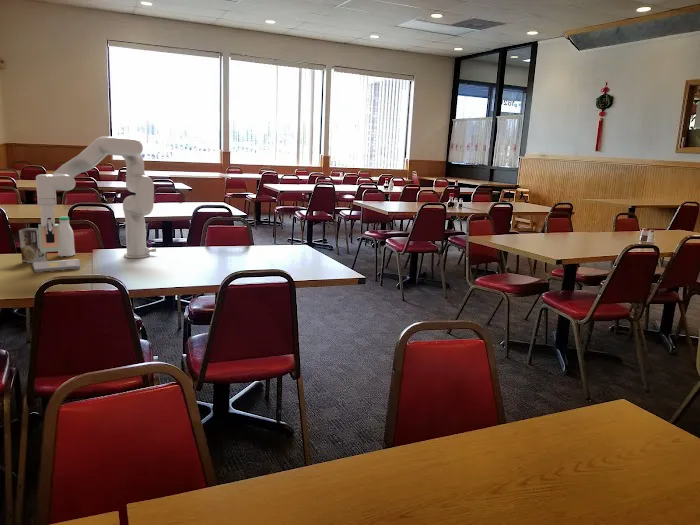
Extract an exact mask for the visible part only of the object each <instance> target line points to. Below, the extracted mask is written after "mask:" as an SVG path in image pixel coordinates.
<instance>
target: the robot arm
mask: <svg viewBox="0 0 700 525" xmlns="http://www.w3.org/2000/svg"><path fill="white" fill-rule="evenodd" d="M143 150H144V146H143V144H142V142H141V141H140V140H138V139H136V138H130V137H129V138H127V137H126V138H124V137H115V136H114V137H113V136H99V137H97V138H96V139H94V140H93V141H92V142H91V143H90V144H89V145H87V147H85V148H84V149H83V150H82V151H81V152H80V153H79V154H78V155H76V156H75V157H73V158H70V160H68V161H67V162H64V163H62V164H61V166H60V167H58V168H57V169H56V170H55V171H54V172H53V173H52V174H49V173H47V174H46V173H45V174H43V173H42V174H37V175H36V176H35V186H36V196H37V198H36V199H37V206H39V207H40V212H39V213H40V224H41V225H42V227H43V228H44V227H46V233H47V234H46V242H47V243H54V242H55V241H54V233H53V227H55V224H56V222H55V221H56V220H55V206H57V191H65V192H68V191H71V190H73V189H74V188H75V187H76V183H77V182H76V180H75V178H76V176H79V175H80V174H81V173H85V172H89V171H90V170H92V169H94V168H95V167H96V166H97V165H98V164H100V163H101V162H102V161H103V160H104V159H105V158H106V157H107V156H110V155H111V156H121V157H122V158H123V159H124V161H125V165H126V167H125V168H126V169H125V170H126V171H125V186H126V189H127V190H128V192H131V193H135V194H133V195H132V194H131V195H128V196H126V197H125V198H124V199H123V202H122V209H123V210H122V211H123V215H124V219H125V220H124V222H125V239H126V241H125V243H126V253H124V254H123V257H124V258H127V259H144V258H148V257H150V255H151V254H150V253H156V252H157V248H156V247H148V246H147V234H146V233H147V232H146V220H145V216H149V215H150V214H151V213H152V212H153V210H154V202H155V200H154V198H155V183H154V181H153V180H152V178H151V177H150V176H148V175H146V174H145V161H144V159H143V157H142V152H143ZM47 226H48V227H47Z"/></svg>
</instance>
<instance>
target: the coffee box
mask: <svg viewBox="0 0 700 525" xmlns="http://www.w3.org/2000/svg"><path fill="white" fill-rule="evenodd" d="M18 234H19V242H20V243H19V245H20V253H21V262H27V263H26V264H33V263H34V262H44V261H48V254H47V253H48V252H41V251H40V241H39V228H37V227H35V228H34V227H26V228H21V229H19V230H18Z"/></svg>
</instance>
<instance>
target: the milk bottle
mask: <svg viewBox="0 0 700 525" xmlns="http://www.w3.org/2000/svg"><path fill="white" fill-rule="evenodd" d="M58 220H59V221H58V222H59V223H58V224H59V229H60V244H61V251H57V255H58V256H59V257H63V256H66V257H72V256H73V255H74V256H75V255H76V249H75V248H76V246H75V236H74V231H73V228H72V226H71V225H70V217H69V216H66V215H65V216H59V217H58ZM74 256H73V257H74Z"/></svg>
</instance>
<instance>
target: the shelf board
mask: <svg viewBox="0 0 700 525" xmlns="http://www.w3.org/2000/svg"><path fill="white" fill-rule="evenodd" d="M32 269H33V271H34V273H35V272H37V273H42V272H41V271H50V272H53V271H52V270H62V271H64V270H63V269H74V270H80V269H81V264H80V258H79V259H77V258H76V259H62V260H60V259H59V260H50V261H49V260H47V261H46V262H34V263H32Z"/></svg>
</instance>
